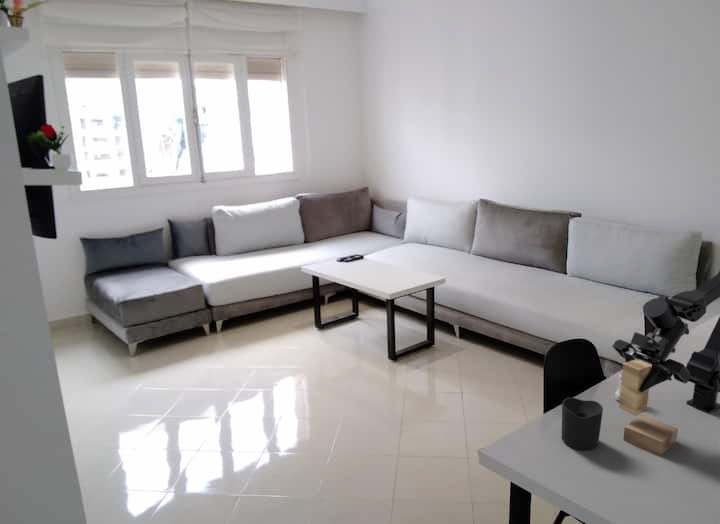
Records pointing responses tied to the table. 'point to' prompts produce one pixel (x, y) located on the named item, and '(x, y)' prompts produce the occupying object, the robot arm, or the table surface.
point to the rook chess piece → (617, 394)
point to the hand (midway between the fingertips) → (631, 387)
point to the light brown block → (650, 434)
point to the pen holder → (581, 423)
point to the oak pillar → (634, 387)
